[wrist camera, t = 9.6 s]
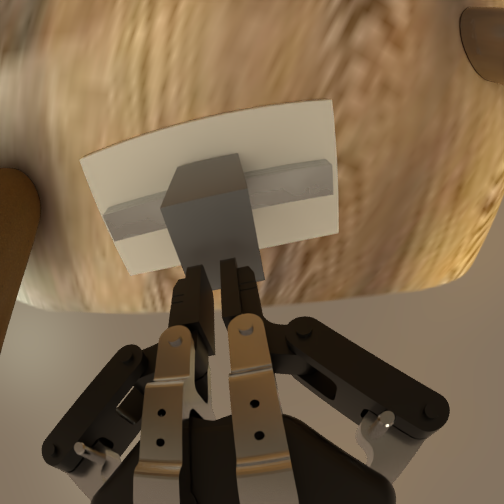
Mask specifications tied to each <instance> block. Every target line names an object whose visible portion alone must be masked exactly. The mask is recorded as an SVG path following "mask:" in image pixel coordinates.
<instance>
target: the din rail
mask: <svg viewBox="0 0 504 504" xmlns="http://www.w3.org/2000/svg"><path fill="white" fill-rule="evenodd" d="M244 177H245V180H246V184H247V188H248V192H249V198H250V203H251V208H252V209H257V208H262V207H268V206H273V205H278V204H283V203H288V202H294V201H299V200H305V199H310V198H316V197H322V196H328V195H334V194H333V170H332V164H331V163H330V162H328V161H327V160H326V159H321V160H314V161H307V162H300V163H294V164H288V165H282V166H276V167H271V168H265V169H260V170H254V171H249V172H244ZM166 192H167V190H166V191H163V192H159V193H155V194H152V195H148V196H144V197H141V198H137V199H134V200H131V201H127V202H124V203H121V204H117V205H114V206H111V207H108V209H107V210H106V212H105V213H104V214H103V218H104V220H105V222H106V224H107V227H108V229H109V231H110V233H111V235H112V238H113V240H114V242H115V241H118V240H122V239H126V238H130V237H134V236H138V235H142V234H146V233H150V232H154V231H158V230H162V229H166V228H167V226H166V224H165V221H164V218H163V215H162V213H161V210H160V207H161V205H162V202H163V200H164V197H165V195H166Z"/></svg>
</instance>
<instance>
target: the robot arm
mask: <svg viewBox="0 0 504 504" xmlns="http://www.w3.org/2000/svg"><path fill="white" fill-rule="evenodd" d="M460 28H461V36H462V41H463V45H464V48H465V51H466V53H467V56H468V58H469V60H470V62H471V64H472V65H473V67H474V68H475V70H476V71H477V73H478V74H479V75H480V76H481V77H483V78H484V79H486V80H488V81H491V82H495V83H499V84H502V85H504V8H496V7H470V8H467V9H466V10H464V12H463V14H462V17H461V24H460ZM220 280H221V303H222V318H223V321H224V323H225V326H226V328H227V331H228V341H229V351H230V364H231V373H230V374H229V390H230V401H231V412H232V415H229V416H226V417H223V418H221V419H218V420H216V419H215V415H214V412H213V409H212V398H211V370H210V367H209V362H208V356H211V355H215V335H214V298H213V292H212V288H211V285H210V283H209V280H208V277H207V274H206V271H205V269H204V266H203V264H200V265H195V266H191V267H187V270H186V278H185V279H180V280H178V282H177V283H176V285H175V286H174V288H173V295H172V297H173V298H172V302H171V303H172V304H171V309H170V317H169V326H168V329H166V330H165V331H164V332H163V333H162V334H161V336H160V338H159V343H157V344H155V345H153V346H151V347H149V348H146V349H143V350H141V349H140V347H138V346H137V345H132V344H131V345H126V346H124V347H122V348H121V349H120V350H119V351H118V352H117V353H116V354H115V355H114V356H113V357H112V359H111V360H110V361H109V362H108V363H107V364H106V366H105V367H104V368H103V369H102V370H101V372H100V373H99V374H98V375H97V376H96V377H95V379H94V380H93V381H92V382H91V383H90V385H89V386H88V387H87V388H86V390H85V391H84V392H83V393H82V394H81V396H80V397H79V398H78V399H77V400H76V402H75V403H74V404H73V406H72V407H71V408H70V409H69V410H68V412H67V413H66V414H65V415H64V416H63V418H62V419H61V420H60V422H59V423H58V424H57V425H56V427H55V428H54V429H53V431H52V432H51V433H50V434H49V435H48V437H47V438H46V439H45V441H44V443H43V445H42V456H43V458H44V460H45V462H46V463H47V464H49V465H51V466H53V467H55V468H58V469H60V470H61V471H63V472H65V473H67V474H68V475H69V477H70V478H71V479H72V480H73V481H74V482H75V484H77V486H78V487H79V488H80V489H81V490H82V491H83V492H84V494H85V495H86V496H87V497H88V498H89V499H90V500H91V504H396V495H395V491H394V488H393V486H392V483H393V482H394V481H395V480H396V479H397V477H398V476H399V475H400V474H401V472H402V471H403V470H404V469H405V467H406V466H407V465H408V463H409V462H410V460H411V459H412V458H413V456H414V455H415V454H416V452H417V451H418V449H419V448H420V446H421V445H422V443H423V442H424V440H425V439H427V438H428V437H429V436H431V435H432V434H433V433H435V432H436V431H437V430H439V429H440V428H441V427H442V426H443V425H444V424H445V423H446V421H447V420H448V417H449V413H450V412H449V411H450V409H449V404H448V402H447V400H446V399H445V398H444V397H443V396H442V395H440V394H439V393H437V392H435V391H433V390H432V389H430V388H428V387H426V386H425V385H423V384H421V383H420V382H418V381H416V380H415V379H413V378H411V377H410V376H408V375H406V374H404V373H403V372H401V371H399V370H398V369H396V368H394V367H393V366H391V365H389V364H388V363H386V362H384V361H383V360H381V359H379V358H378V357H376V356H375V355H373V354H371V353H369V352H368V351H366V350H365V349H363V348H361V347H360V346H358V345H356V344H355V343H353V342H351V341H350V340H348V339H347V338H345V337H344V336H342V335H340V334H339V333H337V332H335V331H334V330H332V329H331V328H329V327H327V326H326V325H324V324H323V323H321V322H319V321H318V320H316V319H314V318H312V317H298V318H295V319H294V320H292V321H291V322H289V324H288V325H280V324H273V323H271V322H269V321H268V320H266V319H265V318H264V316H263V313H262V308H261V303H260V298H259V293H258V288H257V283H256V279H255V274H254V271H253V270H252V269H251V268H250V267H249V266H245V267H240V268H238V265H237V261H236V258H230V259H225V260H220ZM275 373H280V374H291V375H292V376H293V377H294V378H295V379H296V380H297V381H299V382H300V383H301V384H303V385H304V386H305V387H307V388H308V389H309V390H310V391H312V392H313V393H314V394H316V395H317V396H318V397H320V398H321V399H323V400H324V401H325V402H327V403H328V404H330V405H331V406H332V407H333V408H335V409H336V410H338V411H339V412H340V413H342V414H343V415H345V416H346V417H348V418H349V419H350V420H352V421H353V422H355V423H356V424H358V425H359V426H358V428H357V431H356V441H357V443H358V445H360V447H361V448H362V449H363V450H364V451H365V453H366V455H367V464H366V465H365V464H364V463H362V462H360V461H359V460H357V459H356V458H354V457H353V456H351V455H350V454H348V453H347V452H345V451H344V450H342V449H341V448H339V447H338V446H336V445H334V444H333V443H332V442H330V441H329V440H327V439H326V438H325V437H323V436H322V435H320V434H319V433H318V432H316V431H315V430H314V429H312V428H311V427H309V426H308V425H307V424H305V423H304V422H302V421H301V420H299V419H297V418H295V417H292V416H289V415H286V414H283V412H282V407H281V403H280V398H279V393H278V388H277V384H276V378H275ZM132 386H134V388H133V389H132V390H131V392H130V393H129V394H128V395H127V397H126V398H125V399H124V401H123V402H122V403H121V404H120V406H119V407H117V405H118V404H119V403H120V401H121V400H122V399H123V398H124V397H125V395H126V394H127V393H128V392H129V390H130V389H131V388H132ZM116 407H117V408H116ZM140 430H141V438H140V441H139V442H138V443H137V444H136V445H135V447H134V448H133V449H132V450H131V452H130V453H129V454H128V455H127V457H126V458H125V459H124V460H123V462H121V459H120V456H121V455H122V454H123V453H124V451H125V450H126V449H127V447H128V446H129V444H130V443H131V442H132V441H133V439H134V438H135V437H136V435H137V434H138V433H139V431H140Z"/></svg>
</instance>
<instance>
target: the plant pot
mask: <svg viewBox="0 0 504 504" xmlns="http://www.w3.org/2000/svg"><path fill="white" fill-rule="evenodd" d="M40 214H41V205H40V199H39V196H38V193H37V190H36V188H35V186H34V184H33V183H32V181H31V180H30V179H29V178H28V176H26V175H25V174H24V173H23V172H21V171H19V170H17V169H14V168H0V353H1V349H2V346H3V342H4V339H5V335H6V331H7V328H8V324H9V321H10V318H11V314H12V311H13V308H14V305H15V301H16V298H17V295H18V291H19V288H20V285H21V281H22V278H23V275H24V272H25V269H26V265H27V262H28V258H29V255H30V252H31V249H32V245H33V242H34V238H35V235H36V231H37V228H38V224H39V220H40Z"/></svg>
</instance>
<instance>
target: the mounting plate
mask: <svg viewBox="0 0 504 504" xmlns="http://www.w3.org/2000/svg"><path fill="white" fill-rule="evenodd" d="M235 153H238V155H239V158H240V162H241V166H242V169H243V173H244V172H249V171H254V170H260V169H265V168H271V167H276V166H282V165H288V164H294V163H300V162H307V161H314V160H321V159H326V160H327V161H328V162H330V163H331V164H332V170H333V194H334V195H328V196H322V197H316V198H310V199H305V200H299V201H294V202H288V203H283V204H278V205H273V206H268V207H262V208H257V209H252V213H253V219H254V224H255V229H256V235H257V240H258V245H259V249H263V248H268V247H273V246H277V245H282V244H287V243H292V242H297V241H302V240H307V239H312V238H317V237H321V236H326V235H331V234H336V233H339V208H338V172H337V153H336V138H335V125H334V114H333V104H332V100H330V99H318V100H307V101H297V102H288V103H280V104H272V105H265V106H259V107H253V108H247V109H241V110H236V111H231V112H226V113H221V114H216V115H212V116H207V117H203V118H199V119H195V120H191V121H187V122H183V123H179V124H176V125H172V126H169V127H165V128H162V129H158V130H155V131H152V132H149V133H146V134H142V135H139V136H136V137H133V138H130V139H128V140H125V141H122V142H119V143H116V144H114V145H111V146H108V147H106V148H103V149H101V150H98V151H96V152H93V153H91V154H88V155H86V156H84V157H83V158H81V159H80V163H81V166H82V169H83V171H84V174H85V177H86V179H87V182H88V184H89V187H90V190H91V192H92V195H93V197H94V199H95V202H96V204H97V207H98V209H99V211H100V214H101V216H102V218H103V214H104V213H105V212H106V210H107V209H108V207H111V206H114V205H117V204H121V203H124V202H127V201H131V200H134V199H137V198H141V197H144V196H148V195H152V194H155V193H159V192H163V191H166V190H168V187H169V185H170V183H171V180H172V178H173V176H174V174H175V171H176V169H177V167H179V166H183V165H187V164H191V163H195V162H199V161H203V160H207V159H212V158H216V157H221V156H226V155H230V154H235ZM103 221H104V223H105V225H106V227H107V224H106V222H105V220H104V218H103ZM107 229H108V227H107ZM108 232H109V234H110V236H111V238H112V235H111V233H110V231H109V229H108ZM112 240H113V238H112ZM113 242H114V240H113ZM114 244H115V246H116V248H117V250H118V253H119V255H120V257H121V259H122V261H123V263H124V264H125V266H126V268H127V270H128V272H129V274H130V276H132V275H137V274H141V273H146V272H151V271H156V270H161V269H166V268H170V267H175V266H180V265H181V263H180V261H179V258H178V256H177V253H176V250H175V248H174V245H173V243H172V240H171V237H170V235H169V232H168V229H167V228H166V229H162V230H158V231H154V232H150V233H146V234H142V235H138V236H134V237H130V238H126V239H122V240H118V241H115V242H114Z"/></svg>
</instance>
